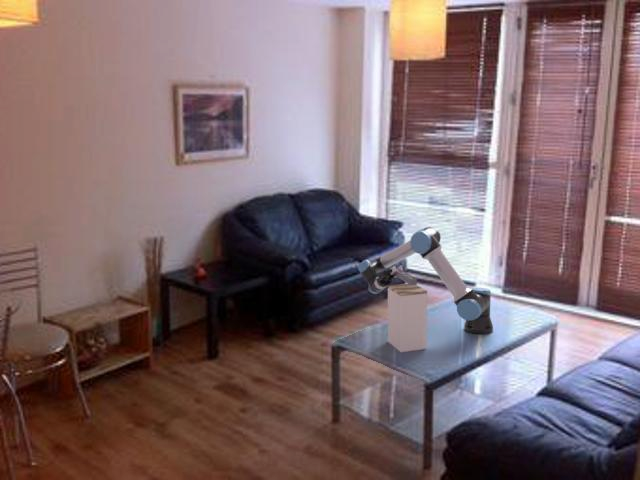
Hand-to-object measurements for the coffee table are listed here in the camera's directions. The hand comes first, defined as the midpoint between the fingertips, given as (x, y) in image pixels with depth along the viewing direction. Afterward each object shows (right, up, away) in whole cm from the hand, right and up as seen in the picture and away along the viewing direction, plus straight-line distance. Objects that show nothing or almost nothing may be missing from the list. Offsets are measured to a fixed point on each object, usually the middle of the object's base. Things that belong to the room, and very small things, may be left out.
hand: (398, 268), depth 328 cm
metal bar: (+2, -5, -4) cm, 7 cm away
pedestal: (+4, -39, -2) cm, 39 cm away
